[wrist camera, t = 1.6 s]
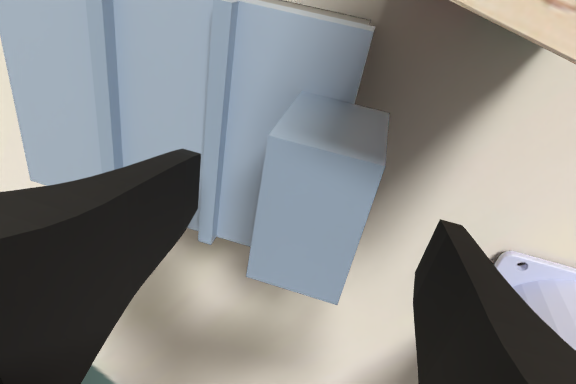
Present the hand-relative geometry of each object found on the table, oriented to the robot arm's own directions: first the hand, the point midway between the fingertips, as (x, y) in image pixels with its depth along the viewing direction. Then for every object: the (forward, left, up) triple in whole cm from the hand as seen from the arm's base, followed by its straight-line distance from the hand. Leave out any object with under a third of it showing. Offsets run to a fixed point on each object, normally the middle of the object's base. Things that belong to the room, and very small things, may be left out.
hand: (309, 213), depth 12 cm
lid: (+6, 0, -4) cm, 8 cm away
